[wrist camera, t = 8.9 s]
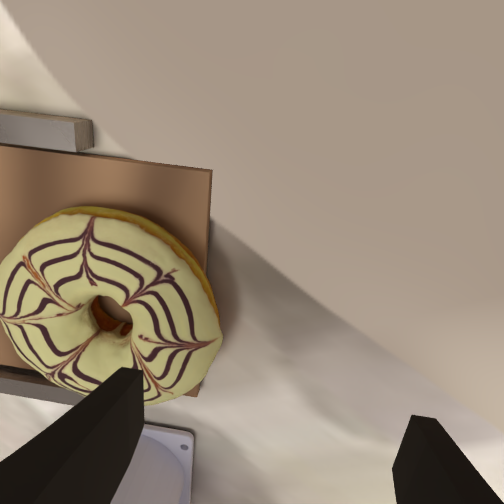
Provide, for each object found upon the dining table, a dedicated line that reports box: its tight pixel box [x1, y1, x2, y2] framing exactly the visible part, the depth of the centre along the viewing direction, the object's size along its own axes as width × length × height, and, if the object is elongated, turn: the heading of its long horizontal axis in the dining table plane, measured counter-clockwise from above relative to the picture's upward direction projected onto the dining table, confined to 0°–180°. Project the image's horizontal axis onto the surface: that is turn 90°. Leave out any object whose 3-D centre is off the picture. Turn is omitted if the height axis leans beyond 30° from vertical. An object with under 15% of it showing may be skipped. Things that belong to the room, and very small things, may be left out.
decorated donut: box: [0, 206, 223, 406], centre depth 19 cm, size 10×11×4 cm
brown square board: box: [0, 143, 212, 397], centre depth 18 cm, size 18×13×5 cm
